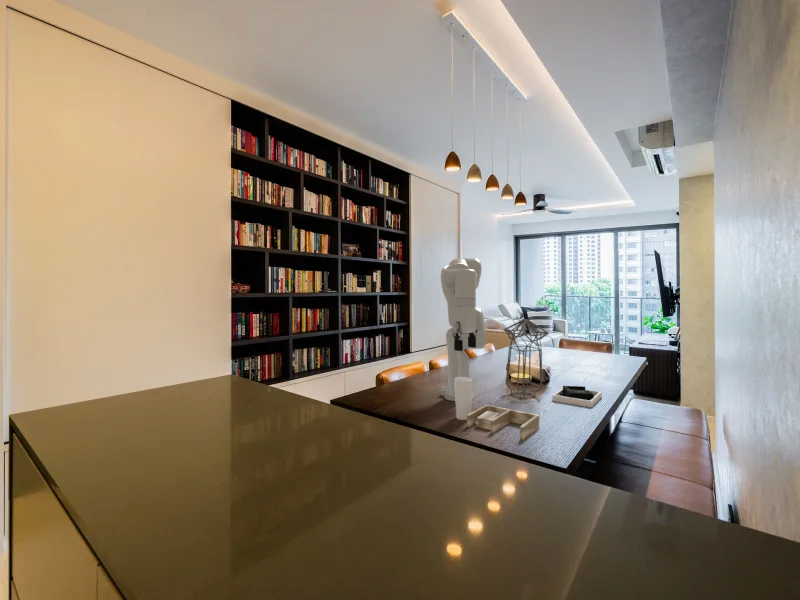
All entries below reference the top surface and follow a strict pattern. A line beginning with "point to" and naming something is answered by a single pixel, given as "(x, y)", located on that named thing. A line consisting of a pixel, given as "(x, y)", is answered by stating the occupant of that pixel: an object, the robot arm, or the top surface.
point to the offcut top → (487, 417)
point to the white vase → (463, 396)
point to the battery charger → (577, 392)
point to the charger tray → (575, 401)
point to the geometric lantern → (525, 353)
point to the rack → (507, 419)
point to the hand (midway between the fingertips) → (465, 348)
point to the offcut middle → (483, 425)
